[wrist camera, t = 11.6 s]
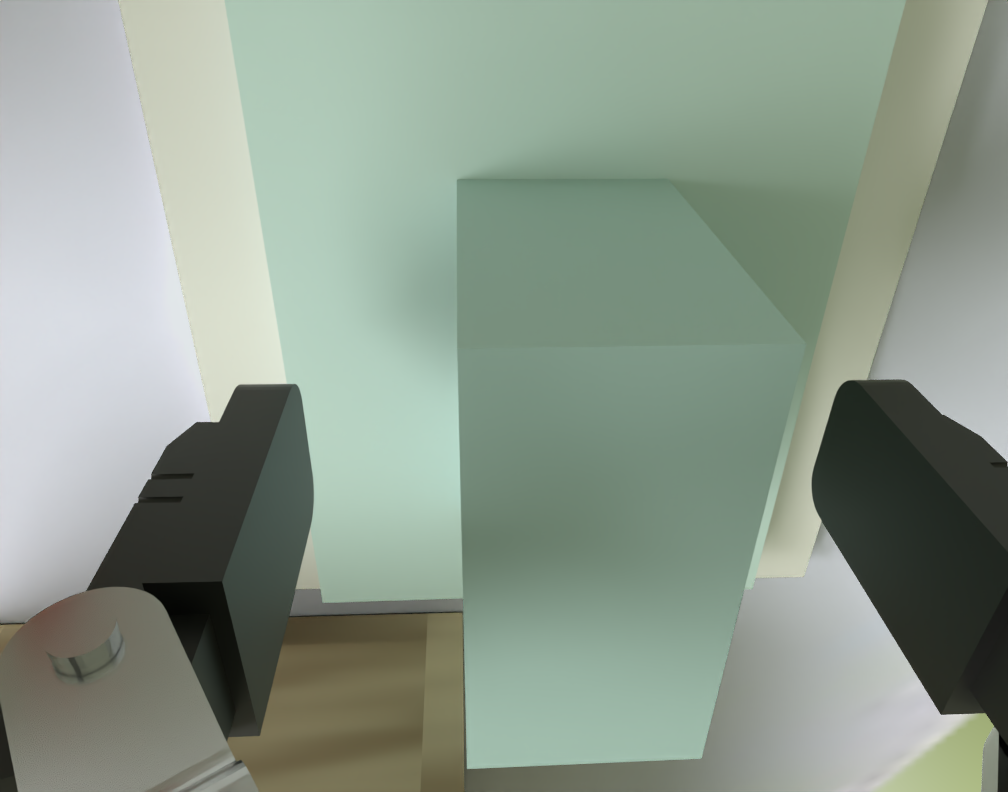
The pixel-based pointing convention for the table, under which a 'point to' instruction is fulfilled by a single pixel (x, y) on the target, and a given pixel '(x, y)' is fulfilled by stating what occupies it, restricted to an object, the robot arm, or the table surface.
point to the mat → (244, 270)
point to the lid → (557, 321)
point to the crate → (360, 706)
